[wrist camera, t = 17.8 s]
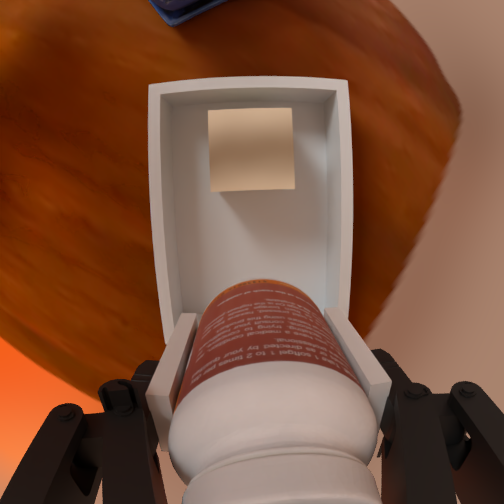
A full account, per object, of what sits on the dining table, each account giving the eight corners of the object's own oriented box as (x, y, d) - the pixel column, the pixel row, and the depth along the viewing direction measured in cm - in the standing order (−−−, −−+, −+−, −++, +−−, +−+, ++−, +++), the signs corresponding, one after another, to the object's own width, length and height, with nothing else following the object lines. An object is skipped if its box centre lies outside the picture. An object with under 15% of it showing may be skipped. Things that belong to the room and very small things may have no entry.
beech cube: (215, 125, 27) (207, 110, 21) (281, 123, 27) (291, 107, 21) (217, 190, 28) (210, 192, 22) (284, 188, 28) (294, 189, 22)
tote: (176, 321, 31) (165, 344, 26) (163, 99, 26) (148, 84, 22) (332, 315, 31) (346, 337, 26) (331, 95, 27) (347, 80, 22)
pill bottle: (177, 303, 15) (82, 494, 4) (295, 253, 14) (406, 417, 4) (232, 396, 16) (224, 581, 5) (336, 356, 16) (419, 532, 5)
